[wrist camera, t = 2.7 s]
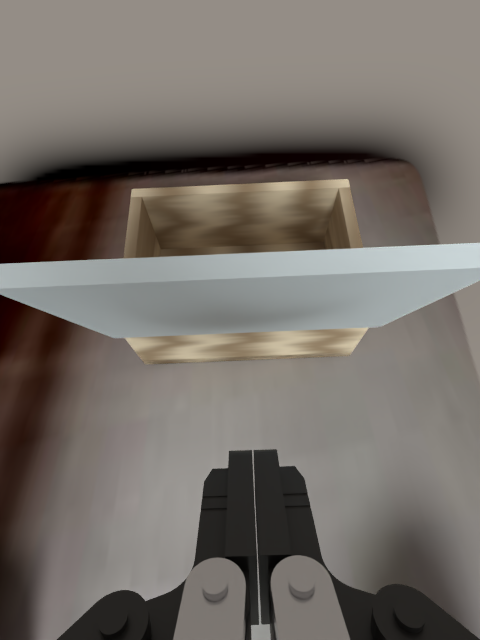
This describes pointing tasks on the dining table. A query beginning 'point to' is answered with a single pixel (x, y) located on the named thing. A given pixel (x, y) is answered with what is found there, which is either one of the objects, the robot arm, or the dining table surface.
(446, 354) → the dining table surface
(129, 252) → the chest
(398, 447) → the dining table surface
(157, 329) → the lid
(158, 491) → the dining table surface
